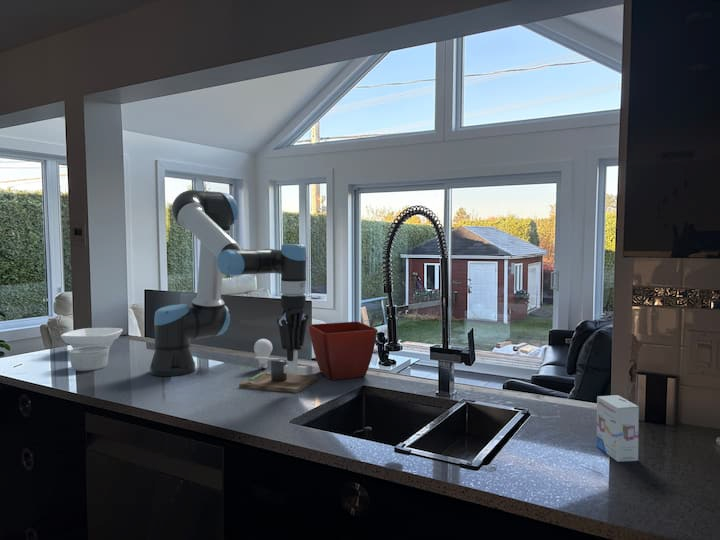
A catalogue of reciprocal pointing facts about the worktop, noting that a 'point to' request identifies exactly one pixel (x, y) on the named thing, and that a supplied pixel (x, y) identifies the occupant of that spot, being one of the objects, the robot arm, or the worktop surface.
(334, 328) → the plant pot
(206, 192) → the robot arm
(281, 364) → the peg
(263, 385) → the board
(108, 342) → the bowl
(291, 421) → the worktop surface
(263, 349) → the light bulb
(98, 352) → the ramekin
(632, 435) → the ink box
